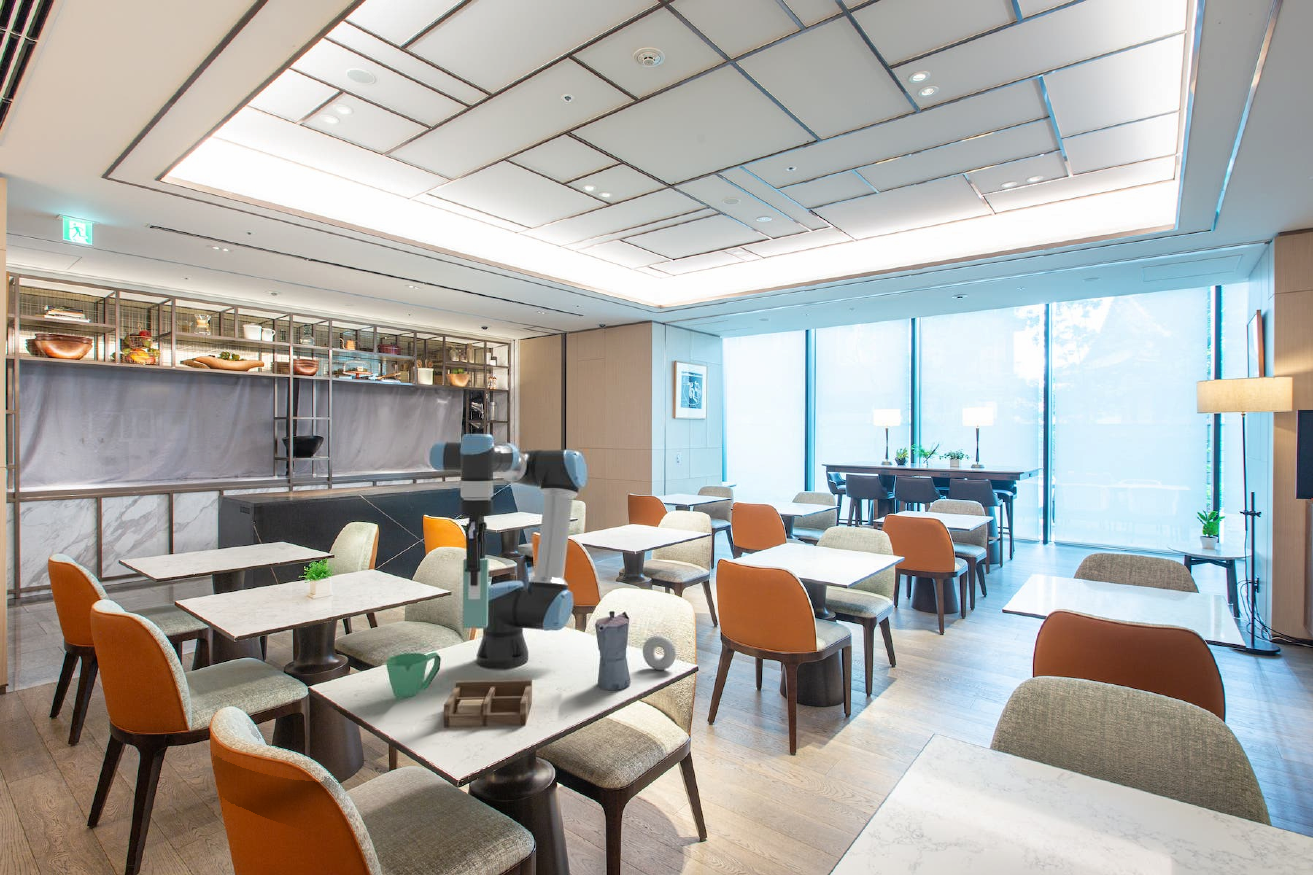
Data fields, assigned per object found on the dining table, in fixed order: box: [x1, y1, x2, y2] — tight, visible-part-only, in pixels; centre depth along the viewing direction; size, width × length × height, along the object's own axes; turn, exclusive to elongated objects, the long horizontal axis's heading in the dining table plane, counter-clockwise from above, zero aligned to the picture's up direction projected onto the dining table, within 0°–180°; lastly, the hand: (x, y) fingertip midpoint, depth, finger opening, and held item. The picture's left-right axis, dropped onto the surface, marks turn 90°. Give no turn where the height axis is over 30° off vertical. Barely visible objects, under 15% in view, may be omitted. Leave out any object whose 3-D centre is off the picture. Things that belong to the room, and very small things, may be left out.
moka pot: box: [594, 610, 631, 691], centre depth 174 cm, size 10×15×20 cm, turn 158°
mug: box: [385, 652, 442, 702], centre depth 165 cm, size 15×10×10 cm
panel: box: [462, 558, 490, 629], centre depth 153 cm, size 2×6×16 cm, turn 94°
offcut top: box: [458, 700, 484, 714], centre depth 147 cm, size 3×5×2 cm, turn 94°
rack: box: [443, 678, 533, 729], centre depth 150 cm, size 12×18×8 cm, turn 94°
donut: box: [642, 634, 677, 671], centre depth 185 cm, size 10×4×10 cm, turn 71°
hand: (475, 597), depth 153 cm, fingers closed on panel, 2 cm apart
